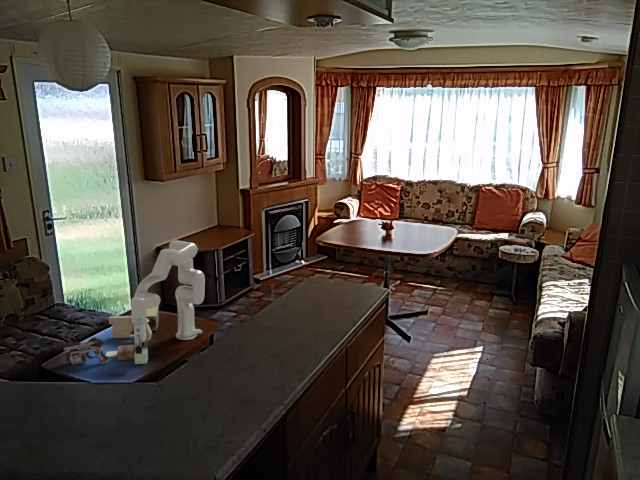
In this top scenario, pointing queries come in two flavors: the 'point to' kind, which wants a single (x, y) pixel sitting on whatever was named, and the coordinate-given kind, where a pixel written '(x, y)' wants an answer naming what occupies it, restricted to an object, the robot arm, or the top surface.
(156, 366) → the top surface
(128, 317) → the gun
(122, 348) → the walnut base
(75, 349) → the toy blaster
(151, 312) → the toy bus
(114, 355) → the sage tile
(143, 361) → the sage cube
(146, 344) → the grey cube
